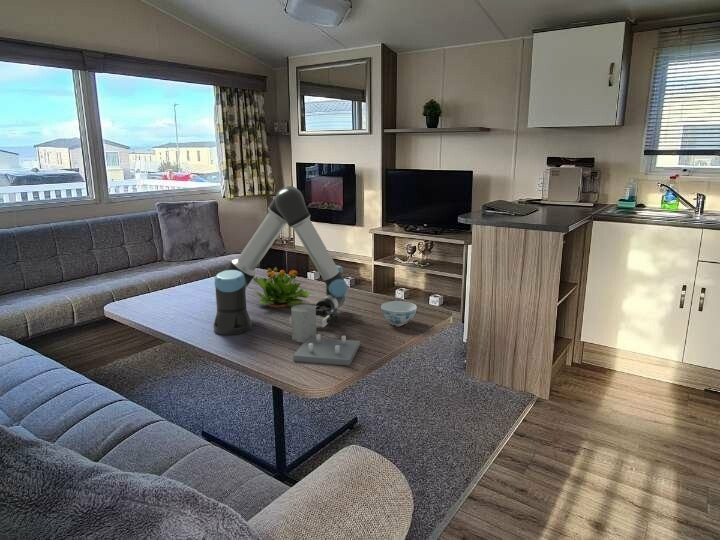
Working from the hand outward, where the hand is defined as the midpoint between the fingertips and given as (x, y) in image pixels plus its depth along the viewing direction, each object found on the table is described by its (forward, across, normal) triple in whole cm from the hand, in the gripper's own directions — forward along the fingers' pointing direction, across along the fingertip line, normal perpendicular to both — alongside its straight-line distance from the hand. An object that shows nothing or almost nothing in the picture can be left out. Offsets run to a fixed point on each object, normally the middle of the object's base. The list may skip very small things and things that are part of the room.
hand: (306, 322), depth 192 cm
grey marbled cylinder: (+1, +1, -7) cm, 7 cm away
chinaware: (-27, -30, -7) cm, 41 cm away
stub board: (+12, -14, -6) cm, 19 cm away
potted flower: (-35, +31, -7) cm, 47 cm away
